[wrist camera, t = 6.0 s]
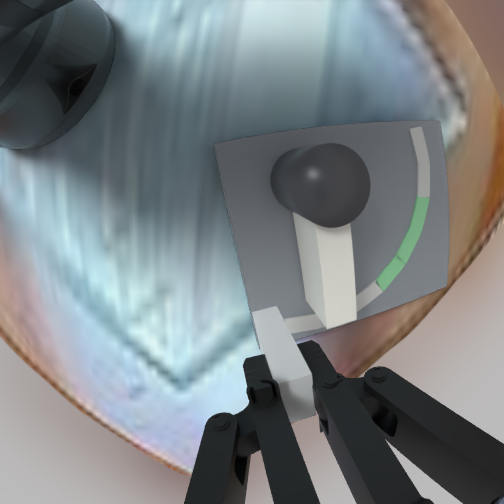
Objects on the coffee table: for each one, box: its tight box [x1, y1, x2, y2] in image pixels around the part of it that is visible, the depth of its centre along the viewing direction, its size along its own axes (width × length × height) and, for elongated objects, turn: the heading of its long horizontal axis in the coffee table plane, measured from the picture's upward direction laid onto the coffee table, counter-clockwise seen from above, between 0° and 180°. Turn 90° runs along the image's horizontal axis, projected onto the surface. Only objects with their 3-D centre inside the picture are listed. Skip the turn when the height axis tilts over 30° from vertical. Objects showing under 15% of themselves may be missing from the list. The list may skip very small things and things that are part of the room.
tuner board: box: [214, 121, 449, 349], centre depth 25 cm, size 22×18×2 cm
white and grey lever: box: [271, 143, 371, 329], centre depth 21 cm, size 14×5×6 cm, turn 11°
